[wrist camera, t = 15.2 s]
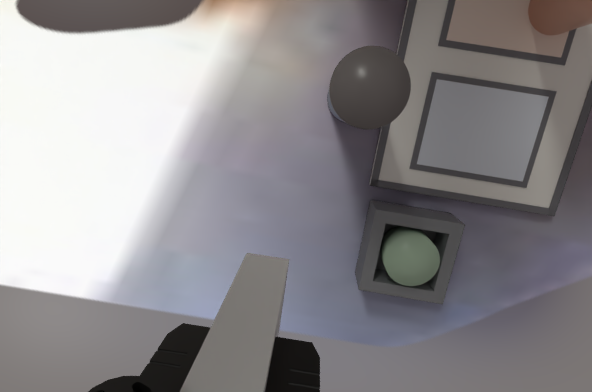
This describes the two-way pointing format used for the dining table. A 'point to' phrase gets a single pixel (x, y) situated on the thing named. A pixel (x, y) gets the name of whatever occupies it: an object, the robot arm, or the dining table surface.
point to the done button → (409, 256)
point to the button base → (433, 223)
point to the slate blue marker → (369, 88)
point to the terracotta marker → (559, 15)
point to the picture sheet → (486, 106)
